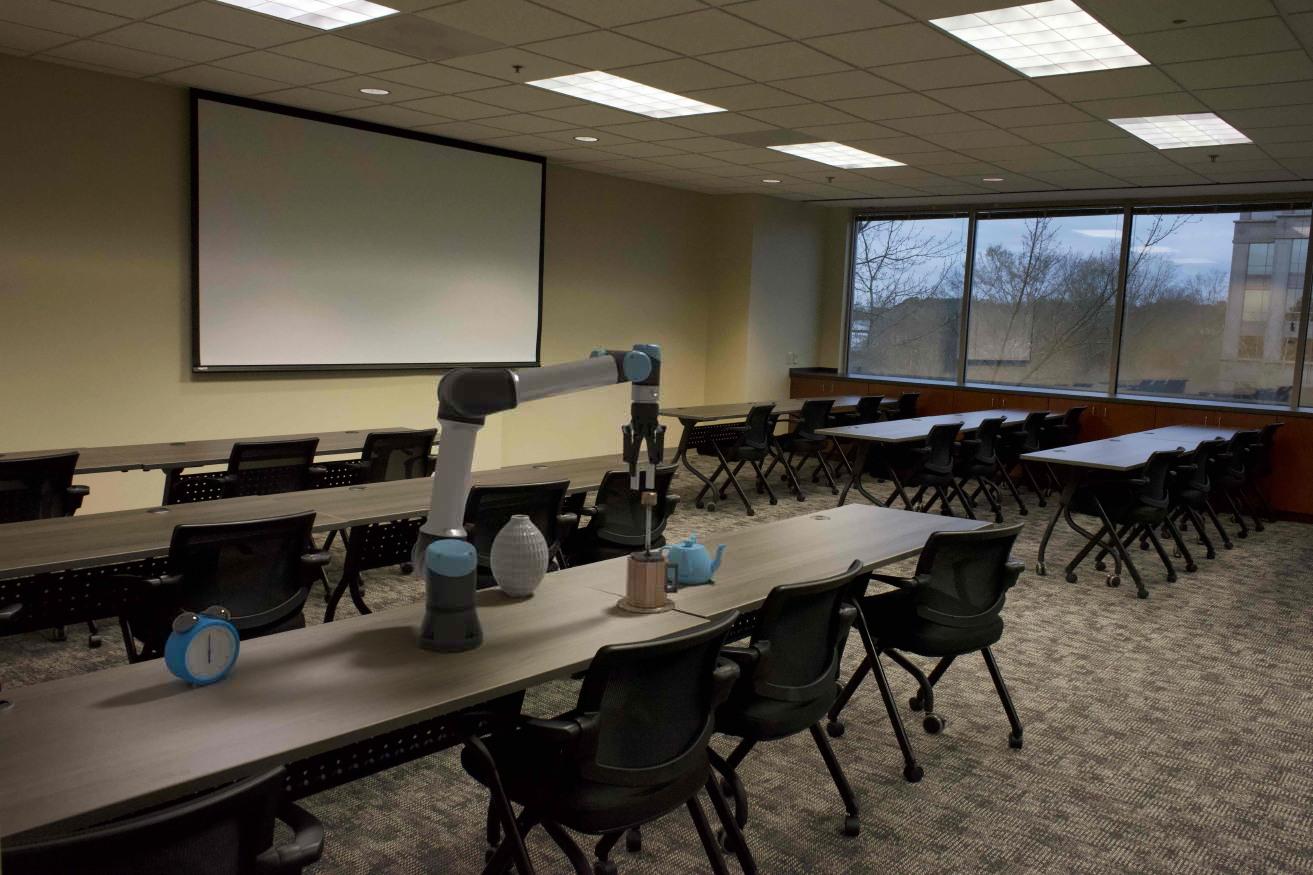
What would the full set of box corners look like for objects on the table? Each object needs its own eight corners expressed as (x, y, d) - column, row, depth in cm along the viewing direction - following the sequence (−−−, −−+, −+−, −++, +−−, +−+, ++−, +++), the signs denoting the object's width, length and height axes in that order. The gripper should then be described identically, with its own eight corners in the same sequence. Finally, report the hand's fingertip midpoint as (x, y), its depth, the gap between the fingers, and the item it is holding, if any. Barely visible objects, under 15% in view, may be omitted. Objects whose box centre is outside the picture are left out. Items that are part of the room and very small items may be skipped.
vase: (486, 587, 269) (487, 511, 267) (541, 584, 274) (543, 510, 272) (494, 602, 253) (495, 522, 251) (552, 599, 258) (554, 520, 256)
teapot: (729, 581, 285) (731, 542, 283) (682, 589, 273) (683, 548, 272) (693, 569, 298) (695, 532, 297) (647, 577, 287) (648, 538, 286)
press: (622, 614, 246) (623, 562, 245) (613, 597, 262) (614, 549, 260) (682, 612, 249) (684, 561, 248) (670, 596, 265) (671, 548, 264)
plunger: (636, 568, 250) (638, 495, 248) (631, 562, 257) (633, 491, 255) (663, 568, 252) (665, 495, 250) (658, 561, 259) (660, 491, 257)
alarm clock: (181, 694, 183) (179, 619, 181) (163, 687, 186) (161, 614, 185) (241, 675, 194) (240, 605, 193) (223, 669, 197) (222, 600, 196)
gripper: (626, 402, 240) (623, 491, 242) (679, 402, 251) (676, 488, 252) (610, 401, 246) (607, 488, 248) (662, 401, 257) (659, 485, 258)
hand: (642, 488), depth 250 cm, fingers open, 4 cm apart
